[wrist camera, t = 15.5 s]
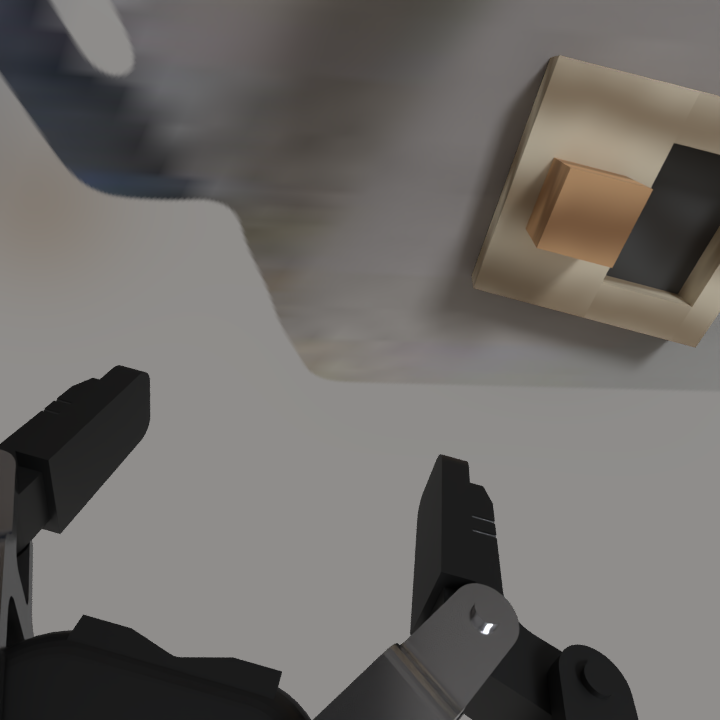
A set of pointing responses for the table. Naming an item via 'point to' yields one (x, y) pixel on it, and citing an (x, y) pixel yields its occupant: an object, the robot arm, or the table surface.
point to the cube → (586, 212)
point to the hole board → (654, 225)
